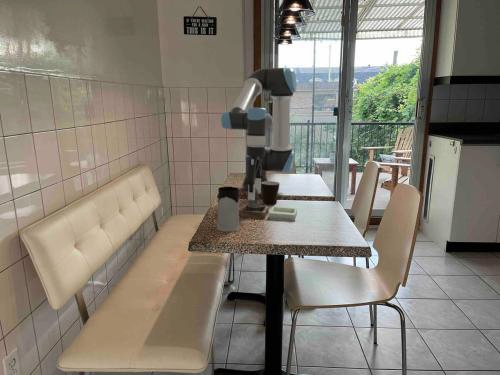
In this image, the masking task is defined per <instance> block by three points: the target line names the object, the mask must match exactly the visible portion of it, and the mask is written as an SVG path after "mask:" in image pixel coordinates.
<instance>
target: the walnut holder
mask: <svg viewBox="0 0 500 375" xmlns="http://www.w3.org/2000/svg"><path fill="white" fill-rule="evenodd" d="M248 205H249V204H243V205H242V206H241V207H240V208H239V217H240V218H241V217H242V218H253V219H266V217H267V216H268V215H269V212H270V205H260V206H261V207H260V210H259V211H249V209H248Z"/></svg>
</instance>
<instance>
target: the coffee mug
mask: <svg viewBox="0 0 500 375" xmlns="http://www.w3.org/2000/svg"><path fill="white" fill-rule="evenodd" d="M261 185H262V191H261V194H262V195H261V197H262V204H263V205H265V204H266V205H265V206H275V204H276V205H277V202H278V196H279V190H280V185H281V184H280V182H278V181H271V180H268V181H264V182H261Z"/></svg>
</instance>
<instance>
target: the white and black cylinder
mask: <svg viewBox="0 0 500 375" xmlns="http://www.w3.org/2000/svg"><path fill="white" fill-rule="evenodd" d="M239 191H240V188H239V187H235V186H221V187H218V190H217V192H218V195H217V196H218V199H217V225H216V230H218V231H220V232H236V231H238V230H240V220H239V219H240V218H239V210H240V201H239V200H240V197H239V195H240V194H239V193H240V192H239Z"/></svg>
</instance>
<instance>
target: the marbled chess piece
mask: <svg viewBox="0 0 500 375" xmlns="http://www.w3.org/2000/svg"><path fill="white" fill-rule="evenodd" d="M259 198H260V196H259V193H258V190H257V189H256V187H255V200H250V204H247V205H248V209H249V211H259V210H260V207H261V206H262V205H261V204H259Z"/></svg>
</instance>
